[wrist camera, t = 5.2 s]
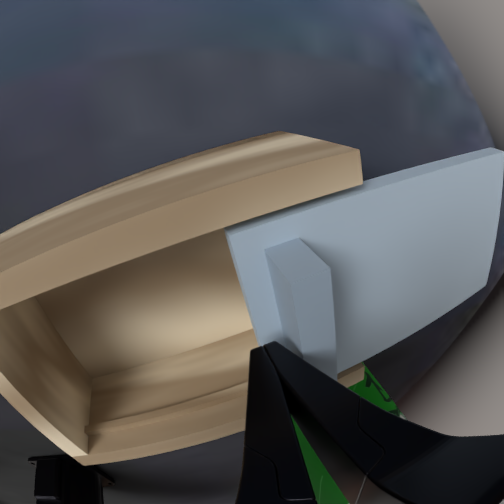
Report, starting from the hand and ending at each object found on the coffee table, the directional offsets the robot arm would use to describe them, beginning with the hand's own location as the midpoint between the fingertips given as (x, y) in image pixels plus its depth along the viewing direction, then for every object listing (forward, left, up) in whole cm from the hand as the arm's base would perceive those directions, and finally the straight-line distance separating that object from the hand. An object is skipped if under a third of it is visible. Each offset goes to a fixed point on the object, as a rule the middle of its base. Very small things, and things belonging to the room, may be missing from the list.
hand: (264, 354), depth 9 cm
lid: (0, -6, -2) cm, 7 cm away
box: (0, +3, -7) cm, 7 cm away
